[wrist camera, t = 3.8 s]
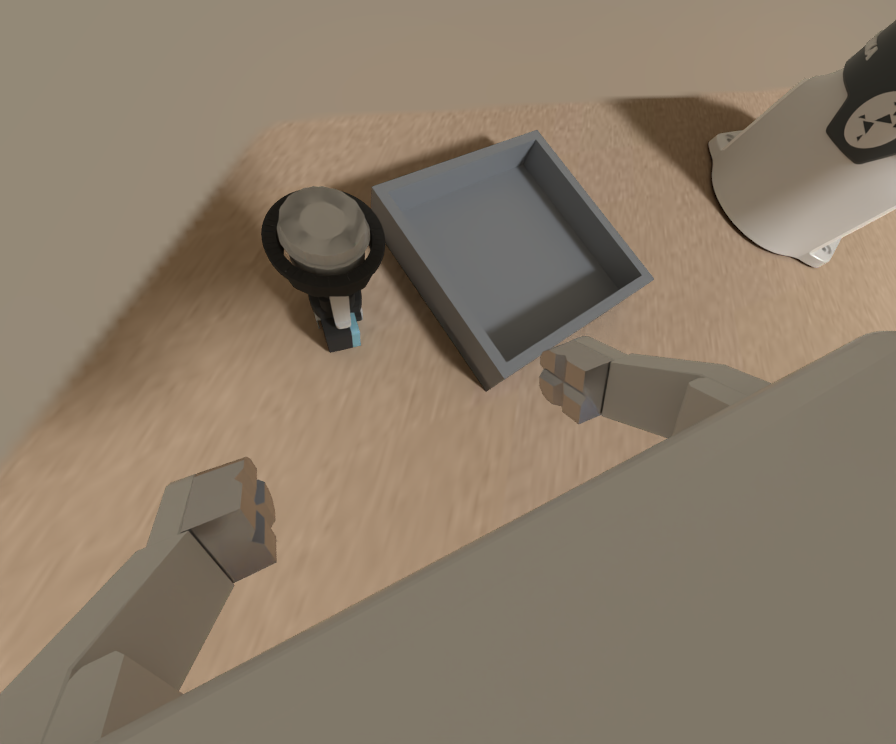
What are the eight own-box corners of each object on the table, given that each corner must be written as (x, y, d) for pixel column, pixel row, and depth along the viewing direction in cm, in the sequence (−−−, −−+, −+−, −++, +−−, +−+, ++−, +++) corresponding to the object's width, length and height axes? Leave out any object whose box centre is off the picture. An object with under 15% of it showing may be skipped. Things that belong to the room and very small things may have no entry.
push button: (286, 276, 24) (236, 149, 15) (361, 264, 26) (359, 143, 16) (309, 363, 23) (270, 285, 13) (387, 345, 24) (401, 263, 15)
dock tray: (519, 164, 32) (537, 129, 29) (623, 300, 30) (654, 279, 27) (370, 222, 27) (371, 186, 24) (486, 391, 25) (504, 378, 22)
